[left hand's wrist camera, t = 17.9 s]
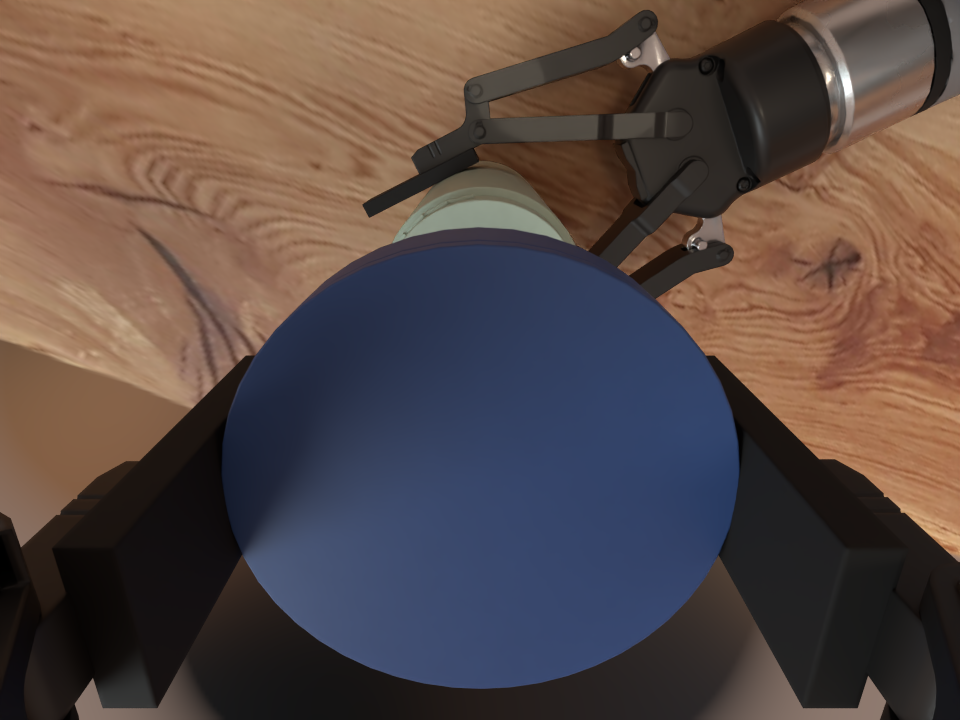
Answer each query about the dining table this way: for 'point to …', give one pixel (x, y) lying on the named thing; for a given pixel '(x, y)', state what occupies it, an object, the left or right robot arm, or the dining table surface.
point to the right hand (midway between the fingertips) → (408, 277)
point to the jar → (484, 205)
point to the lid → (480, 460)
